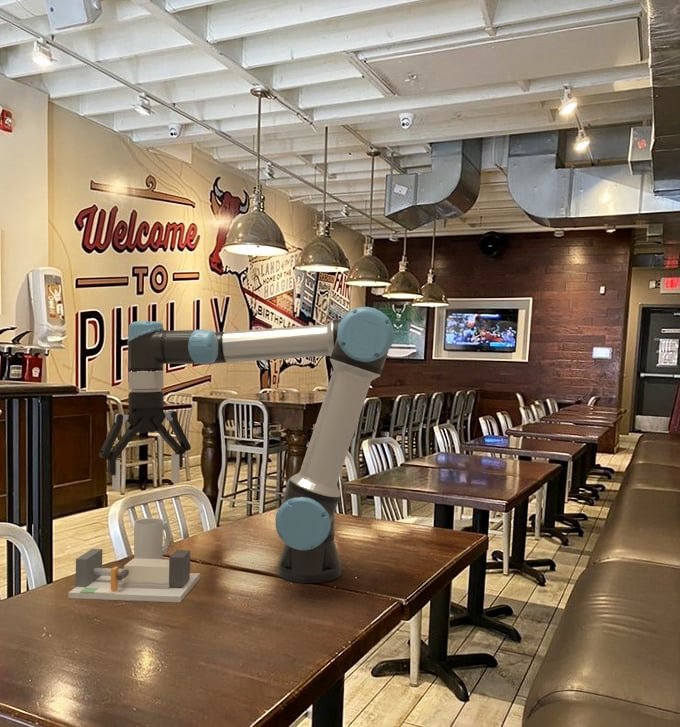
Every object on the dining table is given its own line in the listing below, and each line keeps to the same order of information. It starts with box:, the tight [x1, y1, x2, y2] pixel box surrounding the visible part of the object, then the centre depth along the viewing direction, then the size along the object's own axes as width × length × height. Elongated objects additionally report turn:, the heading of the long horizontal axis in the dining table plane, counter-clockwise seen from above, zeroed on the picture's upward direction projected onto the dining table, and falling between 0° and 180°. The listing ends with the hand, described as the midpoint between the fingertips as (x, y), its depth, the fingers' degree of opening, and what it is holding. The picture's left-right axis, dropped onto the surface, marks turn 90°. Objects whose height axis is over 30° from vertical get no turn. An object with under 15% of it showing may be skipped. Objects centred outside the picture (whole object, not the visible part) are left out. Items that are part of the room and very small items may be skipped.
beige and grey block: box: [117, 549, 191, 587], centre depth 139 cm, size 13×9×6 cm
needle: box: [111, 566, 120, 590], centre depth 136 cm, size 1×2×4 cm, turn 176°
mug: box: [133, 517, 171, 559], centre depth 155 cm, size 10×7×12 cm, turn 147°
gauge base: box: [68, 548, 201, 603], centre depth 142 cm, size 24×15×7 cm, turn 87°
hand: (146, 486), depth 142 cm, fingers open, 13 cm apart
